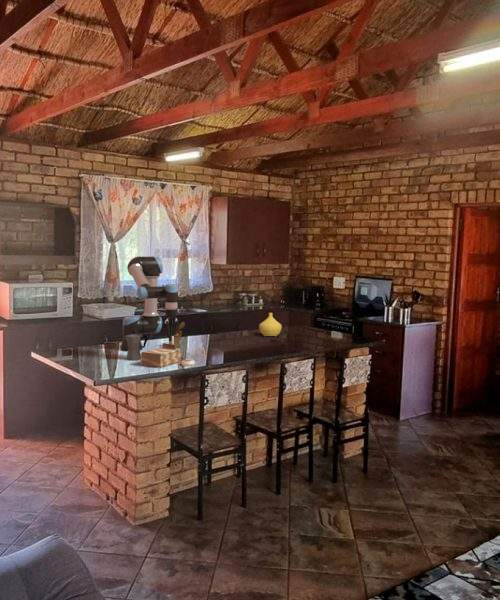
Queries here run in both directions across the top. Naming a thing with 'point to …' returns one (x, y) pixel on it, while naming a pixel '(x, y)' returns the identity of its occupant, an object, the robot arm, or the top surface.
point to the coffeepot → (134, 345)
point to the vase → (270, 326)
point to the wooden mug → (177, 336)
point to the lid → (164, 349)
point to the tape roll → (187, 362)
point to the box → (160, 359)
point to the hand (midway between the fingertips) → (171, 346)
